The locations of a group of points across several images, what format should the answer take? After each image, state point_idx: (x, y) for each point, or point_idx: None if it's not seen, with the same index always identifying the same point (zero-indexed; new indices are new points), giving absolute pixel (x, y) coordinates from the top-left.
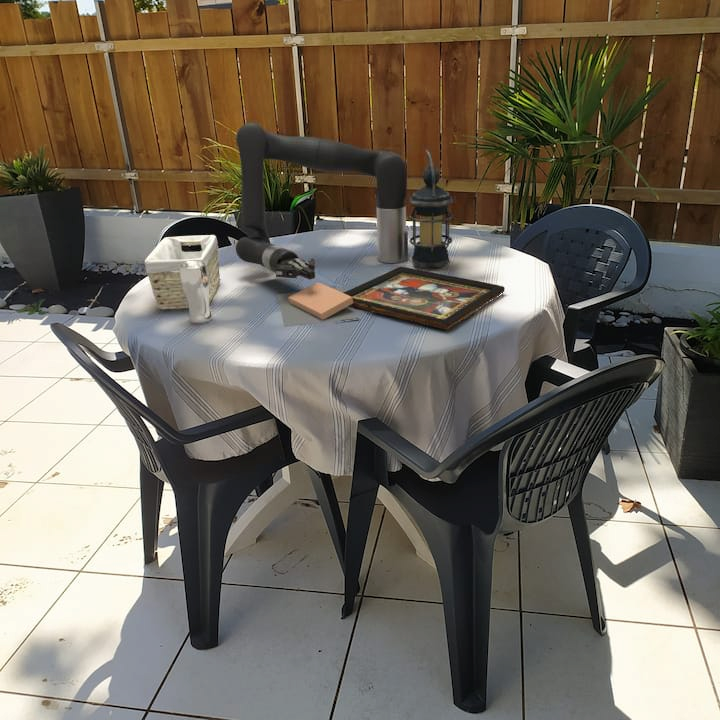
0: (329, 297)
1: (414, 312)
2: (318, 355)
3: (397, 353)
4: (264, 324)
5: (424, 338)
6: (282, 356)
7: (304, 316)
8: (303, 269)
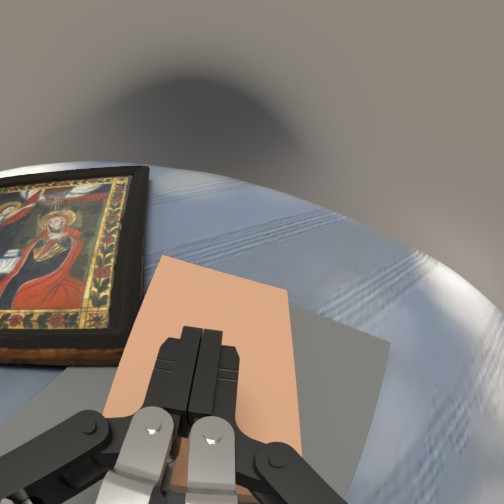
0: (197, 317)
1: (118, 202)
2: (358, 237)
3: (251, 189)
4: (431, 402)
5: (184, 187)
6: (414, 265)
7: (309, 360)
8: (212, 401)
